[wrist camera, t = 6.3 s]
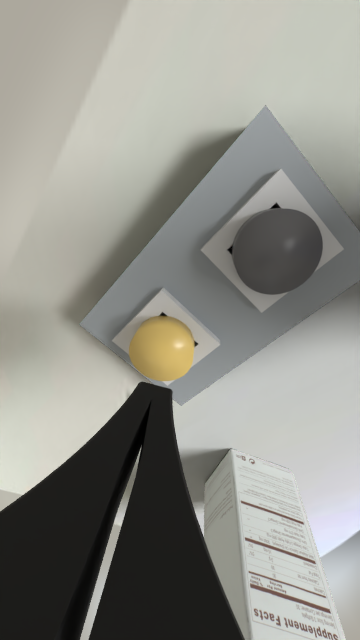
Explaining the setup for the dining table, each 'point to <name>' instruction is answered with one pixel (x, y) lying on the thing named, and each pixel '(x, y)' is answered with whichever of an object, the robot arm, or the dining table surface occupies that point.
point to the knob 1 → (162, 348)
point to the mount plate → (229, 261)
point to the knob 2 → (277, 250)
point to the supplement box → (267, 552)
